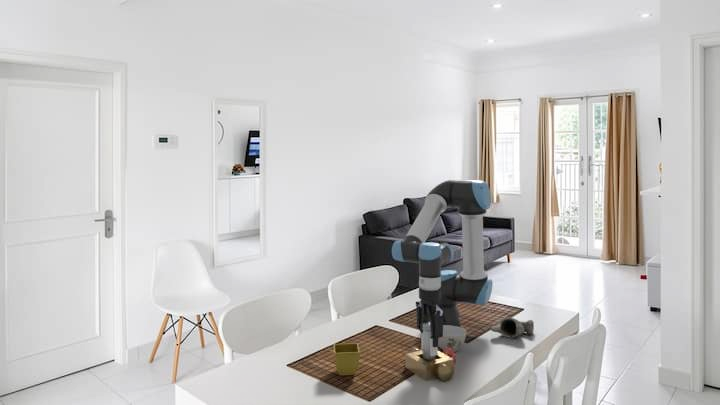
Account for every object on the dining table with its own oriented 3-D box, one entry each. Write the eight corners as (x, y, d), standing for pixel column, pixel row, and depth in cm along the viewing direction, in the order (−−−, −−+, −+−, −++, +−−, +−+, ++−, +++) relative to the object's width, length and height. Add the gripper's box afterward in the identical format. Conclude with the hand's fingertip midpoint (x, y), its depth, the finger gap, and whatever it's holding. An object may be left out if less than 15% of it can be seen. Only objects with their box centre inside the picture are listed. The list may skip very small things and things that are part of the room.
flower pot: (333, 367, 184) (333, 343, 183) (358, 366, 184) (357, 342, 184) (334, 378, 175) (334, 353, 174) (360, 377, 176) (360, 352, 175)
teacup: (454, 341, 208) (454, 322, 207) (473, 352, 196) (473, 332, 196) (422, 347, 202) (422, 328, 201) (439, 359, 190) (439, 338, 190)
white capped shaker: (419, 356, 182) (419, 323, 180) (430, 353, 184) (430, 321, 183) (427, 361, 177) (428, 327, 176) (438, 358, 180) (439, 324, 179)
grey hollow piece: (504, 350, 219) (496, 342, 207) (495, 331, 224) (486, 322, 212) (539, 333, 216) (533, 324, 204) (529, 315, 221) (523, 305, 209)
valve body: (399, 363, 187) (399, 347, 186) (433, 355, 194) (433, 339, 194) (433, 385, 170) (433, 367, 169) (468, 374, 177) (469, 358, 177)
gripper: (406, 283, 184) (406, 346, 186) (436, 295, 169) (436, 363, 171) (423, 280, 188) (423, 342, 190) (454, 292, 172) (453, 359, 175)
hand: (429, 352), depth 181 cm, fingers closed on white capped shaker, 4 cm apart
